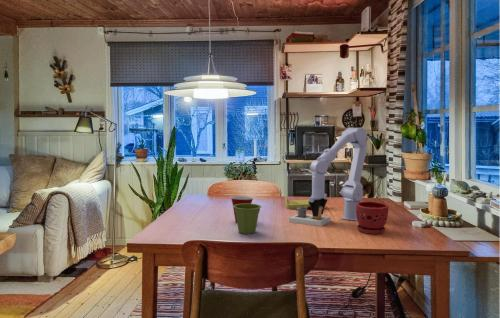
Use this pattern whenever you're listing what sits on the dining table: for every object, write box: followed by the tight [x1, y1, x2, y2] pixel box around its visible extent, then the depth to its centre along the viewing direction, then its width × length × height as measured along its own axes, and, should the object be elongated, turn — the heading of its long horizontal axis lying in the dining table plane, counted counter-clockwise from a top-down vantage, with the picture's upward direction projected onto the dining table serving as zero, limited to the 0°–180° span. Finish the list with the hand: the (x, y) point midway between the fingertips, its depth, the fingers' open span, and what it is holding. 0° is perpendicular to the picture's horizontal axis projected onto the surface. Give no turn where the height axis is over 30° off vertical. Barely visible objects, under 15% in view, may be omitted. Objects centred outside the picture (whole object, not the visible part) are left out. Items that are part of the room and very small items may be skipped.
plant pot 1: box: [232, 203, 262, 235], centre depth 179 cm, size 12×12×11 cm
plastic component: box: [285, 196, 311, 210], centre depth 232 cm, size 20×7×10 cm
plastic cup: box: [230, 195, 254, 223], centre depth 198 cm, size 11×11×12 cm
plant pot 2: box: [356, 200, 389, 235], centre depth 180 cm, size 13×13×12 cm
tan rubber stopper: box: [312, 206, 323, 220], centre depth 198 cm, size 5×5×6 cm
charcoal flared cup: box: [296, 207, 308, 218], centre depth 201 cm, size 5×5×6 cm
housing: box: [288, 213, 332, 227], centre depth 200 cm, size 16×12×2 cm
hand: (317, 215), depth 197 cm, fingers closed on tan rubber stopper, 5 cm apart
